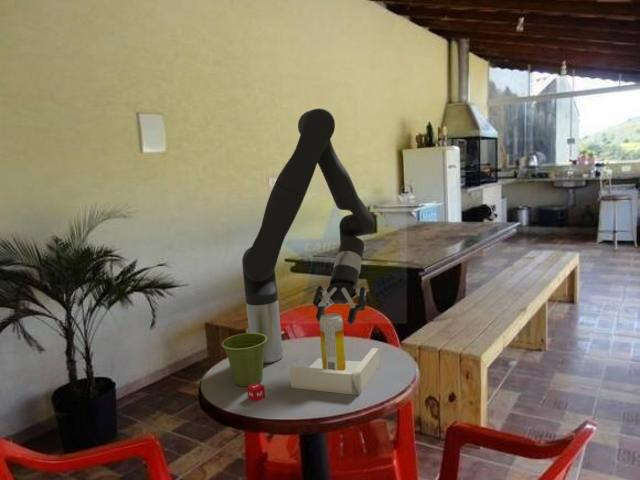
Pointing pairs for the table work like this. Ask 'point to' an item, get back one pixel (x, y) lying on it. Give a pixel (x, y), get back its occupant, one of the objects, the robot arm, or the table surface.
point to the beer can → (332, 342)
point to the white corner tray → (337, 375)
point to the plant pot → (246, 357)
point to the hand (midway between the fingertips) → (334, 322)
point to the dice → (256, 392)
